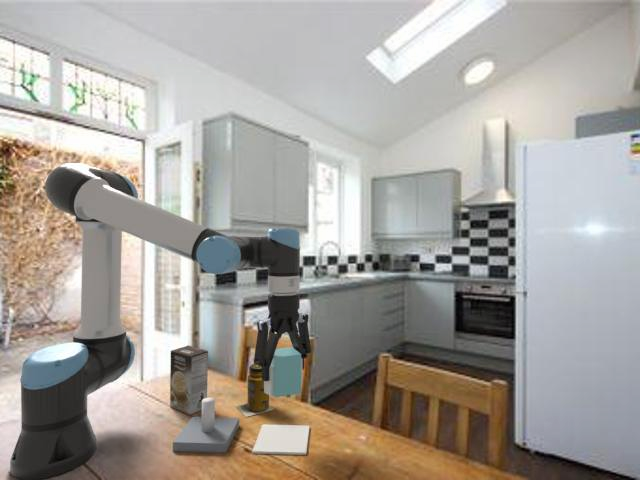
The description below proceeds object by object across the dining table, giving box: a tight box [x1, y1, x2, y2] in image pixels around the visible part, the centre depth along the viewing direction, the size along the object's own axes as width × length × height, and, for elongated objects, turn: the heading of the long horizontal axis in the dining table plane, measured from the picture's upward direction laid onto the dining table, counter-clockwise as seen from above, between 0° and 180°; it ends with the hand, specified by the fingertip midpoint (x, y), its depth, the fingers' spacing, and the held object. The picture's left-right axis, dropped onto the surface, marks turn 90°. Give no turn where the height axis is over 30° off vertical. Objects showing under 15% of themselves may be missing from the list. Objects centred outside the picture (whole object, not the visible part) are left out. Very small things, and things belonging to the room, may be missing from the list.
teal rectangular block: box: [271, 346, 302, 398], centre depth 89 cm, size 6×6×9 cm
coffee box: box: [169, 344, 209, 415], centre depth 106 cm, size 9×6×16 cm
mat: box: [251, 423, 311, 456], centre depth 89 cm, size 12×12×1 cm
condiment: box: [236, 363, 275, 418], centre depth 106 cm, size 7×8×12 cm
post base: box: [172, 397, 240, 454], centre depth 90 cm, size 12×12×9 cm
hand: (283, 388), depth 89 cm, fingers closed on teal rectangular block, 8 cm apart
